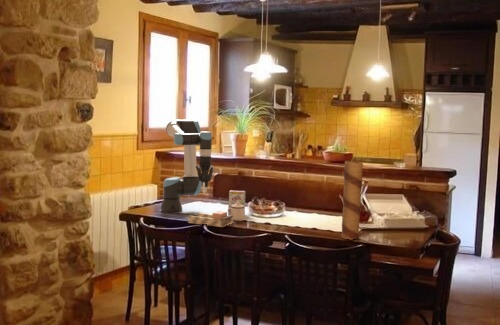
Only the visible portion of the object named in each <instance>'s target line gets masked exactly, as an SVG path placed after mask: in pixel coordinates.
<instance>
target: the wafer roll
mask: <svg viewBox="0 0 500 325" xmlns="http://www.w3.org/2000/svg"><path fill="white" fill-rule="evenodd" d="M363 166H364V164H363V162H361V161H357V160H352V161H351V160H345V161H344V173H343V194H342V206H343V208H342V214H341V215H342V218H341V220H342V222H341V239H342V238H343V239H342V240H347V239H349V240H348V241H353V239H355V240H358V239H359V238H360V236H359V233H360V230H359V228H360V218H361V196H362V186H363Z"/></svg>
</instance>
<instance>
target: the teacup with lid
mask: <svg viewBox="0 0 500 325" xmlns="http://www.w3.org/2000/svg"><path fill="white" fill-rule="evenodd" d="M229 209H231V214H230V212H229ZM228 213H229V215H233V221H236V222H237V221H244V220H245V214H244V205H241V204H239V202H236V204H234V205H231V208H227V214H228ZM229 215H228V216H229Z"/></svg>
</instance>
